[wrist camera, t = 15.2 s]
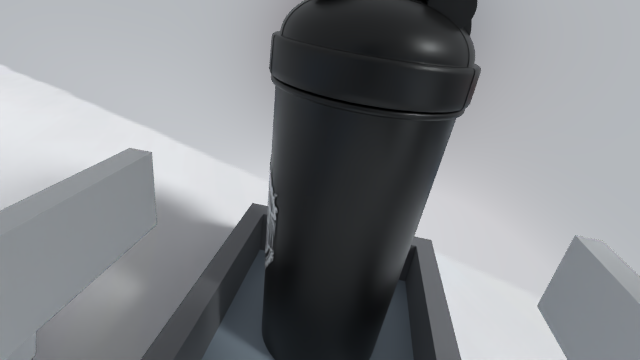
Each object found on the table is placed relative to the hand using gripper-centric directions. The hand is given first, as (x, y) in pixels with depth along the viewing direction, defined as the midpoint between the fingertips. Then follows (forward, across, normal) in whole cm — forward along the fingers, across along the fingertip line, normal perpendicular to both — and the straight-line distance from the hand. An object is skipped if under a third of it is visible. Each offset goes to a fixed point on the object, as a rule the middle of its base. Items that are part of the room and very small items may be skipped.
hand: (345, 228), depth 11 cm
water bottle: (+10, 0, -15) cm, 18 cm away
